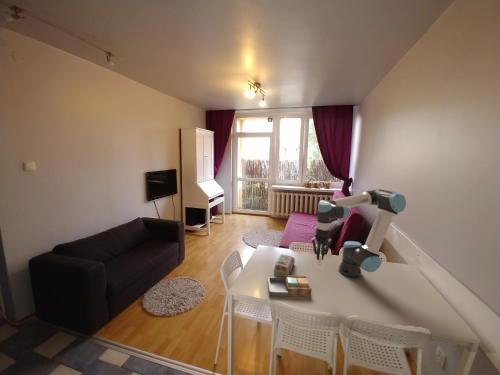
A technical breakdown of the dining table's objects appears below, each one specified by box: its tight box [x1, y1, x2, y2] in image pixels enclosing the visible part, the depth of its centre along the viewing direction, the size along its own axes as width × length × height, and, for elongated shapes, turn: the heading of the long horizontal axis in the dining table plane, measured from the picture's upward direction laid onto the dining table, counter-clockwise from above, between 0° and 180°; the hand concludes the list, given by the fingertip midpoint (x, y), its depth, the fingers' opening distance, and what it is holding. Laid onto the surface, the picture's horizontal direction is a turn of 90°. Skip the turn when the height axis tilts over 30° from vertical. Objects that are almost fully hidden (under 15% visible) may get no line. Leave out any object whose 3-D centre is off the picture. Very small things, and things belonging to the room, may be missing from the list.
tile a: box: [297, 277, 310, 286], centre depth 142 cm, size 6×6×2 cm
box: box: [267, 276, 289, 298], centre depth 142 cm, size 11×16×3 cm
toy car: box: [273, 254, 296, 278], centre depth 164 cm, size 11×25×10 cm, turn 158°
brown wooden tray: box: [284, 275, 312, 297], centre depth 142 cm, size 14×14×5 cm
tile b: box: [287, 277, 298, 286], centre depth 142 cm, size 6×6×2 cm
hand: (319, 264), depth 140 cm, fingers closed
